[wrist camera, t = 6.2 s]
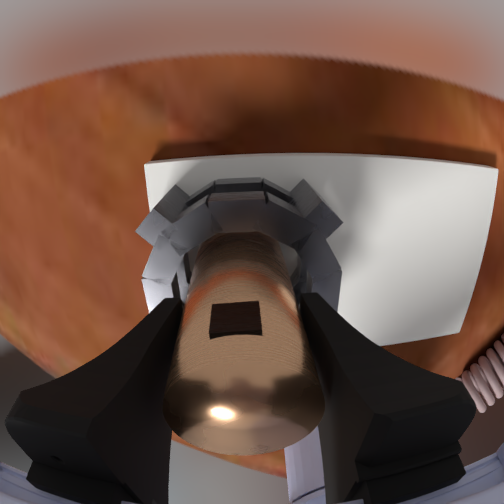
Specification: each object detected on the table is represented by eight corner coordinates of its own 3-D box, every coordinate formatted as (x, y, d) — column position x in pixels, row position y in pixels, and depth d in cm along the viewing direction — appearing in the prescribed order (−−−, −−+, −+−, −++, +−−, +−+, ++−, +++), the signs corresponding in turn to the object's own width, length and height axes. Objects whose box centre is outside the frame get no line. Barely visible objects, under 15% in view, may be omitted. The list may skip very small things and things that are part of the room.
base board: (488, 165, 15) (498, 169, 14) (453, 324, 20) (459, 332, 19) (150, 161, 15) (144, 164, 14) (180, 347, 20) (177, 357, 19)
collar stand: (323, 175, 15) (347, 197, 11) (315, 315, 18) (330, 362, 14) (156, 183, 15) (128, 207, 11) (177, 320, 18) (164, 368, 14)
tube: (282, 291, 16) (318, 447, 8) (203, 297, 16) (182, 456, 8) (280, 213, 14) (333, 348, 6) (192, 220, 14) (141, 361, 6)
